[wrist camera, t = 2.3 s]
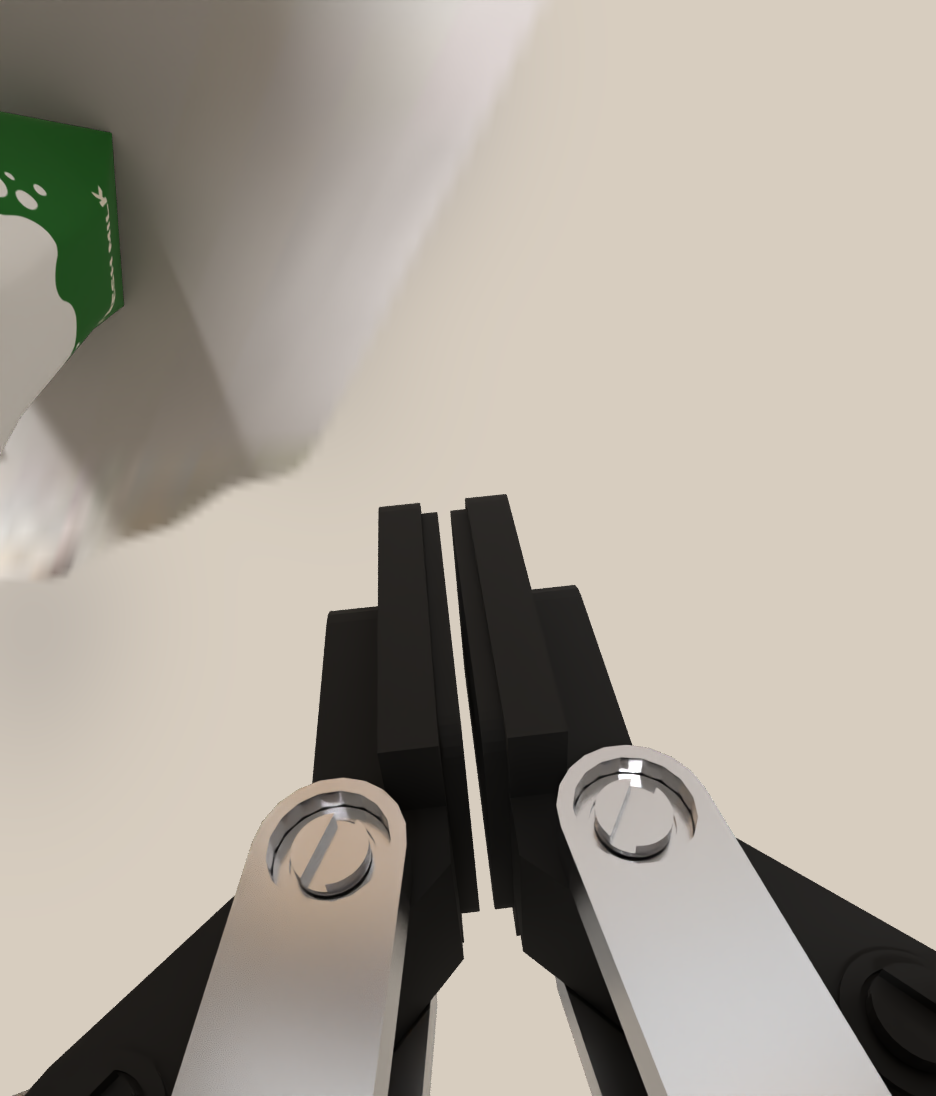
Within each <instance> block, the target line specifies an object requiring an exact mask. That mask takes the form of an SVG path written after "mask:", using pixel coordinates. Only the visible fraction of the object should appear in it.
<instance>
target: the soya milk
mask: <svg viewBox="0 0 936 1096" xmlns="http://www.w3.org/2000/svg"><path fill="white" fill-rule="evenodd" d="M123 306H124V299H123V285H122V271H121V257H120V243H119V229H118V215H117V200H116V186H115V172H114V158H113V144H112V133H110V132H105V131H100V130H94V129H89V128H84V127H79V126H73V125H68V124H63V123H58V122H53V121H48V120H43V119H37V118H32V117H27V116H22V115H16V114H11V113H6V112H1V111H0V454H1V452H2V451H3V449H4V447H5V445H6V443H7V441H8V439H9V437H10V436H11V434H12V432H13V430H14V428H15V426H16V424H17V423H18V421H19V419H20V418H21V416H22V415H23V413H24V412H25V411H26V410H27V408H28V407H29V406H30V405H31V403H32V402H33V401H34V400H35V399H36V397H37V396H38V395H39V394H40V393H41V391H42V390H43V389H44V388H45V387H46V385H47V384H48V383H49V382H50V381H51V379H52V378H53V377H54V376H55V375H56V373H57V372H58V371H59V370H60V369H61V367H62V366H63V365H64V364H65V363H66V361H67V360H68V359H69V358H70V357H71V355H72V354H73V353H74V352H75V351H76V349H77V348H78V347H79V346H80V345H81V343H82V342H83V341H84V340H85V339H86V338H87V336H88V335H89V334H90V333H91V332H92V330H93V329H94V328H96V327H97V326H98V325H100V324H101V323H102V322H103V321H105V320H106V319H107V318H109V317H110V316H111V315H112V314H114V313H115V312H116V311H118V310H119V309H120V308H122V307H123Z"/></svg>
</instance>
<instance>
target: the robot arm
mask: <svg viewBox="0 0 936 1096" xmlns="http://www.w3.org/2000/svg"><path fill="white" fill-rule="evenodd" d="M465 508H466V509H463V510H453V511H451V512H450V513H451V525H452V536H453V546H454V559H455V569H456V581H457V592H458V602H459V614H460V626H461V637H462V648H463V659H464V669H465V678H466V686H467V694H468V702H469V710H470V718H471V726H472V733H473V741H474V749H475V757H476V765H477V773H478V781H479V789H480V797H481V805H482V813H483V820H484V829H485V837H486V844H487V853H488V860H489V868H490V876H491V884H492V892H493V900H494V907H495V909H501V908H509V907H512V908H513V914H514V921H515V928H516V935H517V936H519V935H521V940H522V947H523V952H525V953H526V954H528V955H529V956H530V957H531V958H532V959H534V960H535V961H536V962H538V963H539V964H540V965H542V966H543V967H544V968H545V969H547V970H548V971H549V972H551V973H552V974H553V975H554V976H555V977H556V983H557V989H558V992H559V995H560V999H561V1002H562V1005H563V1008H564V1011H565V1014H566V1017H567V1020H568V1023H569V1026H570V1029H571V1032H572V1035H573V1038H574V1041H575V1044H576V1047H577V1051H578V1053H579V1057H580V1060H581V1063H582V1066H583V1069H584V1072H585V1075H586V1078H587V1081H588V1084H589V1087H590V1090H591V1093H592V1096H936V951H935V950H933V949H931V948H929V947H927V946H926V945H924V944H922V943H920V942H919V941H917V940H915V939H913V938H912V937H910V936H908V935H906V934H904V933H903V932H901V931H899V930H898V929H896V928H894V927H892V926H890V925H889V924H887V923H885V922H883V921H882V920H880V919H878V918H876V917H875V916H873V915H871V914H869V913H868V912H866V911H864V910H862V909H861V908H859V907H857V906H855V905H854V904H852V903H850V902H848V901H846V900H845V899H843V898H841V897H839V896H838V895H836V894H834V893H832V892H831V891H829V890H827V889H825V888H824V887H822V886H820V885H818V884H817V883H815V882H813V881H811V880H809V879H808V878H806V877H804V876H802V875H801V874H799V873H797V872H795V871H793V870H792V869H790V868H788V867H787V866H785V865H783V864H781V863H780V862H778V861H776V860H774V859H772V858H771V857H769V856H767V855H765V854H764V853H762V852H760V851H758V850H757V849H755V848H753V847H751V846H750V845H748V844H746V843H744V842H743V841H741V840H739V839H737V838H735V836H734V835H733V833H732V831H731V830H730V828H729V826H728V825H727V823H726V822H725V820H724V818H723V816H722V815H721V813H720V811H719V810H718V808H717V806H716V805H715V803H714V801H713V800H712V798H711V796H710V795H709V793H708V792H707V790H706V788H705V787H704V786H703V785H702V784H701V782H700V781H699V780H698V779H697V777H696V776H695V775H694V774H693V772H692V771H691V770H689V769H688V768H687V767H685V766H684V765H683V764H681V763H680V762H678V761H677V760H675V759H674V758H673V757H671V756H669V755H666V754H663V753H661V752H658V751H656V750H653V749H651V748H646V747H639V746H632V743H631V740H630V737H629V735H628V731H627V729H626V725H625V723H624V720H623V717H622V714H621V711H620V708H619V705H618V702H617V699H616V696H615V693H614V690H613V687H612V685H611V682H610V679H609V676H608V673H607V670H606V667H605V664H604V661H603V658H602V655H601V652H600V650H599V647H598V644H597V641H596V638H595V635H594V632H593V629H592V626H591V623H590V620H589V617H588V614H587V612H586V609H585V606H584V603H583V600H582V597H581V594H580V593H579V590H578V588H577V587H576V586H575V585H570V586H561V587H552V588H543V589H533V590H531V586H530V582H529V578H528V575H527V571H526V567H525V563H524V559H523V555H522V551H521V547H520V544H519V540H518V536H517V532H516V528H515V525H514V520H513V517H512V513H511V509H510V505H509V501H508V498H507V495H506V494H503V495H493V496H483V497H473V498H466V499H465ZM378 526H379V528H378V531H379V532H378V606H376V607H367V608H357V609H348V610H339V611H330V612H329V614H328V618H327V625H326V636H325V647H324V658H323V670H322V681H321V692H320V704H319V715H318V725H317V737H316V747H315V759H314V770H313V781H312V784H310V785H308V786H305V787H303V788H300V789H298V790H296V791H295V792H294V793H292V794H291V795H289V796H288V797H286V798H285V799H283V800H282V801H281V802H279V803H278V804H277V805H276V806H275V807H274V809H273V810H272V811H271V812H270V813H269V814H268V815H267V817H266V818H265V819H264V820H263V821H262V823H261V825H260V827H259V829H258V831H257V833H256V835H255V837H254V839H253V841H252V844H251V847H250V850H249V853H248V856H247V859H246V863H245V866H244V869H243V872H242V875H241V878H240V882H239V885H238V888H237V891H236V894H235V896H234V897H233V898H231V899H230V900H229V901H228V902H227V903H226V904H225V905H224V906H223V907H222V908H221V909H220V910H219V911H218V912H216V913H215V914H214V915H213V916H212V917H211V918H210V919H209V920H208V921H207V922H206V923H205V924H203V925H202V926H201V927H200V928H199V929H198V930H197V931H196V932H195V933H194V934H193V935H192V936H190V937H189V938H188V939H187V940H186V941H185V942H184V943H183V944H182V945H181V946H180V947H179V948H177V949H176V950H175V951H174V952H173V953H172V954H171V955H170V956H169V957H168V958H167V959H166V960H165V961H163V963H161V964H160V965H159V966H158V967H157V968H156V969H155V970H154V971H153V972H152V973H151V974H150V975H148V976H147V977H146V978H145V979H144V980H143V981H142V982H141V983H140V984H139V985H138V986H137V987H135V989H133V990H132V991H131V992H130V993H129V994H128V995H127V996H126V997H125V998H123V999H122V1000H121V1001H120V1002H119V1003H118V1004H117V1005H116V1006H115V1007H114V1008H113V1009H112V1010H111V1011H110V1012H108V1013H107V1014H106V1015H105V1016H104V1017H103V1018H102V1019H101V1020H100V1021H99V1022H98V1023H97V1024H95V1025H94V1026H93V1027H92V1028H91V1029H90V1030H89V1031H88V1032H87V1033H86V1034H85V1035H84V1036H82V1037H81V1038H80V1039H79V1040H78V1041H77V1042H76V1043H75V1044H74V1045H73V1046H72V1047H71V1048H70V1049H69V1050H67V1051H66V1052H65V1053H64V1054H63V1055H62V1056H61V1057H60V1058H59V1059H58V1060H57V1061H55V1062H54V1063H53V1064H52V1065H51V1066H50V1067H49V1068H48V1069H47V1070H46V1072H45V1073H44V1074H43V1075H42V1076H41V1077H40V1079H38V1081H37V1082H36V1083H35V1084H34V1085H33V1086H32V1087H31V1088H30V1089H29V1090H26V1091H24V1092H21V1093H18V1094H16V1095H13V1096H430V1087H431V1075H432V1062H433V1049H434V1038H435V1025H436V1013H437V996H436V993H437V992H438V991H439V990H440V988H441V987H442V986H443V985H444V983H445V982H446V981H447V980H448V978H449V977H450V976H451V974H452V973H453V972H454V971H455V969H456V968H457V967H458V965H459V964H460V963H461V962H462V960H463V959H464V956H463V945H462V943H464V937H463V925H462V914H461V913H470V912H477V911H480V909H479V900H478V889H477V881H476V880H477V879H476V869H475V859H474V849H473V841H472V840H473V839H472V829H471V819H470V809H469V799H468V789H467V779H466V769H465V760H464V749H463V740H462V730H461V721H460V713H459V704H458V694H457V685H456V676H455V667H454V658H453V649H452V640H451V631H450V623H449V613H448V605H447V595H446V586H445V578H444V568H443V559H442V551H441V541H440V532H439V523H438V515H437V512H434V513H424V514H421V506H420V503H415V504H405V505H395V506H385V507H379V521H378Z"/></svg>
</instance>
